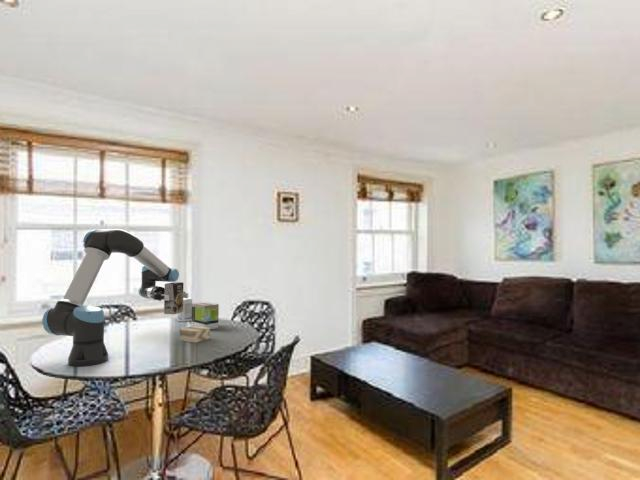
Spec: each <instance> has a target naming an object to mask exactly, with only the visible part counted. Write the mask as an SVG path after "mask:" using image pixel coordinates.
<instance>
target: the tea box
mask: <svg viewBox="0 0 640 480" xmlns="http://www.w3.org/2000/svg"><path fill="white" fill-rule="evenodd" d="M219 306H220V305H219V303H213V302H209V301H208V302H207V301H203V302H202V301H201V302H192V320H191V326H202V327H208V328H210V330H215V329H219V316H220V315H219V311H220V309H219V308H220V307H219Z"/></svg>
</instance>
